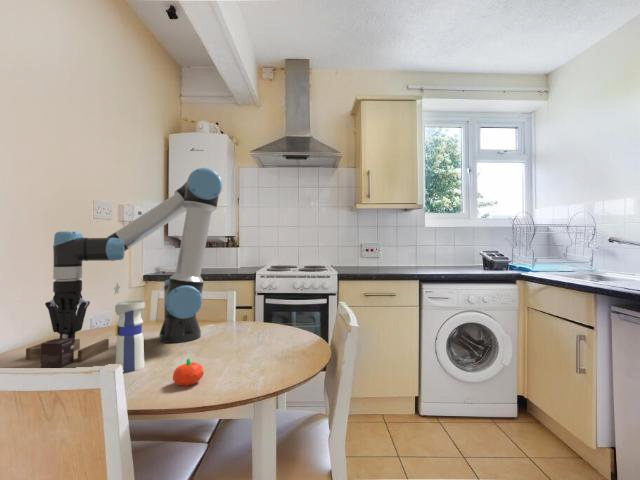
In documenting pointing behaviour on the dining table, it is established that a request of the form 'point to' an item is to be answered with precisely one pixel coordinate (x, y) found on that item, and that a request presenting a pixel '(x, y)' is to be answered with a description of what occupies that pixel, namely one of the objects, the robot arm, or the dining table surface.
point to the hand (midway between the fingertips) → (67, 354)
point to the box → (57, 352)
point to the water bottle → (129, 335)
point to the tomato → (188, 373)
